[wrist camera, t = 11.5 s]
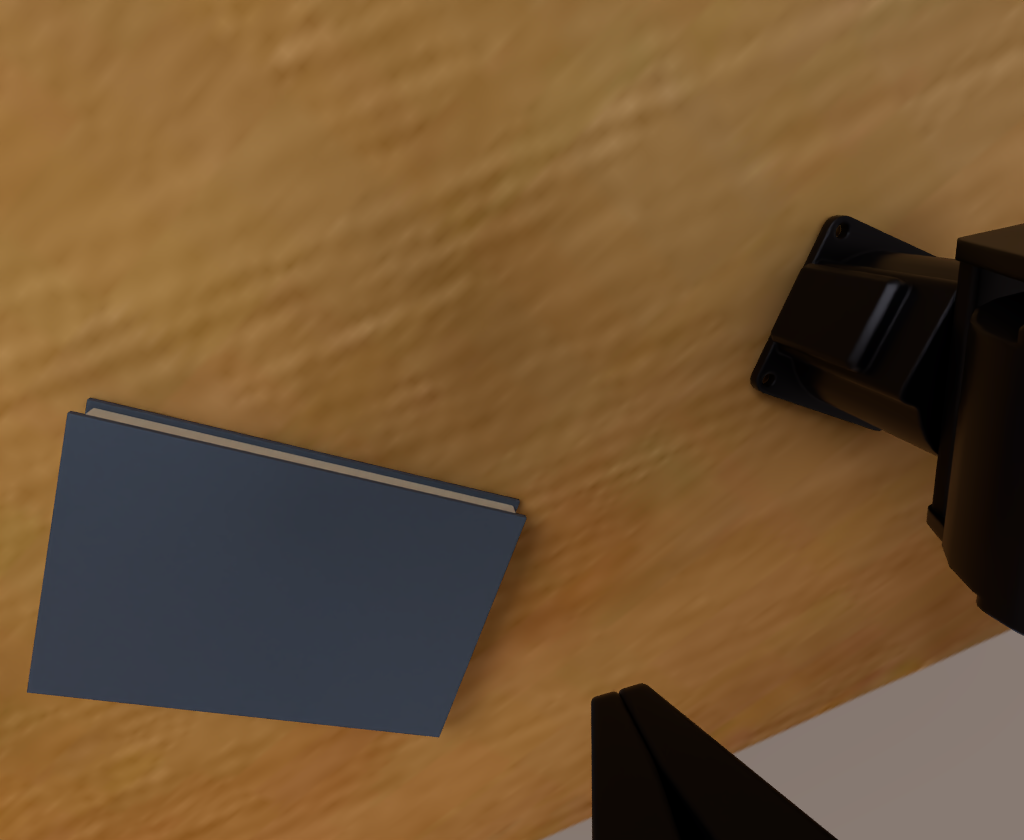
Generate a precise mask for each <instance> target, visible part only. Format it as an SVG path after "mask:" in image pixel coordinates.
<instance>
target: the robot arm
mask: <svg viewBox="0 0 1024 840" xmlns="http://www.w3.org/2000/svg"><path fill="white" fill-rule="evenodd" d="M839 225H841V232H840V234H839V235H838V237H836V229H837V227H838V226H839ZM767 374H769V379H768V380H767V381H766V382H765V383H763V378H764V377H765V375H767ZM750 380H751V384H752V386H753V387H754V388H755V389H757V390H759V391H761V392H762V393H765V394H768V395H771V396H774V397H777V398H780V399H783V400H786V401H789V402H792V403H795V404H798V405H801V406H804V407H807V408H810V409H813V410H816V411H819V412H822V413H825V414H828V415H831V416H834V417H837V418H840V419H843V420H846V421H849V422H852V423H855V424H858V425H860V426H863V427H866V428H869V429H872V430H876V431H880V430H884V431H886V432H888V433H890V434H892V435H894V436H896V437H898V438H900V439H902V440H905V441H907V442H909V443H911V444H913V445H915V446H917V447H919V448H921V449H923V450H925V451H927V452H929V453H932V454H934V455H936V456H938V459H937V468H936V477H935V486H934V494H933V503H932V504H931V505H929V506H928V512H927V521H926V522H927V524H928V525H929V526H930V528H931V529H932V530H933V531H934V532H935V534H936V535H937V536H938V537H939V538H940V540H941V541H942V547H943V549H944V552H945V555H946V558H947V561H948V564H949V567H950V568H951V569H952V570H953V571H954V572H955V573H956V574H957V575H958V576H959V577H960V578H961V580H962V581H963V582H964V583H965V584H966V585H967V586H968V587H969V588H970V589H971V590H972V591H973V592H974V593H975V594H977V600H976V603H977V606H978V607H979V608H980V609H981V610H982V611H984V612H985V613H986V614H988V615H989V616H991V617H993V618H994V619H996V620H998V621H999V622H1001V623H1002V624H1004V625H1006V626H1007V627H1009V628H1010V629H1012V630H1014V631H1015V632H1017V633H1019V634H1021V635H1024V224H1019V225H1015V226H1010V227H1006V228H1001V229H997V230H992V231H988V232H983V233H979V234H974V235H969V236H965V237H961V238H958V239H957V248H956V257H955V259H948V258H940V257H936V256H933V255H931V254H929V253H927V252H925V251H923V250H921V249H918V248H916V247H914V246H912V245H910V244H908V243H906V242H903V241H901V240H899V239H897V238H895V237H893V236H890V235H888V234H886V233H884V232H882V231H880V230H878V229H875V228H873V227H871V226H869V225H867V224H865V223H862V222H860V221H858V220H856V219H854V218H852V217H849V216H841V215H836V216H832V217H830V218H829V219H828V220H827V221H826V222H825V224H824V225H823V227H822V229H821V231H820V233H819V235H818V237H817V239H816V241H815V244H814V246H813V248H812V250H811V252H810V254H809V256H808V258H807V260H806V262H805V264H804V266H803V268H802V269H801V271H800V273H799V275H798V277H797V279H796V281H795V283H794V285H793V287H792V289H791V291H790V294H789V296H788V298H787V300H786V302H785V304H784V306H783V308H782V310H781V312H780V314H779V316H778V318H777V320H776V323H775V325H774V327H773V329H772V331H771V335H770V337H769V339H768V341H767V343H766V345H765V347H764V349H763V351H762V353H761V355H760V358H759V360H758V362H757V364H756V366H755V368H754V370H753V372H752V375H751V378H750ZM591 738H592V840H838V839H836V838H835V837H834V836H833V835H831V834H830V833H829V832H828V831H826V830H825V829H824V828H823V827H821V826H820V825H819V824H818V823H817V822H815V821H814V820H813V819H812V818H810V817H809V816H808V815H807V814H805V813H804V812H803V811H802V810H801V809H799V808H798V807H797V806H796V805H794V804H793V803H792V802H791V801H790V800H788V799H787V798H786V797H785V796H783V795H782V794H781V793H780V792H778V791H777V790H776V789H775V788H773V787H772V786H771V785H770V784H769V783H767V782H766V781H765V780H763V779H762V778H761V777H760V776H759V775H758V774H756V773H755V772H754V771H753V770H751V769H750V768H749V767H747V766H746V765H745V764H744V763H743V762H741V761H740V760H739V759H738V758H736V757H735V756H734V755H733V754H732V753H730V752H729V751H728V750H727V749H725V748H724V747H723V746H722V745H721V744H719V743H718V742H717V741H716V740H714V739H713V738H712V737H711V736H709V735H708V734H707V733H706V732H705V731H703V730H702V729H701V728H700V727H698V726H697V725H696V724H695V723H693V722H692V721H691V720H690V719H689V718H687V717H686V716H685V715H684V714H682V713H681V712H680V711H679V710H677V709H676V708H675V707H674V706H672V705H671V704H670V703H669V702H668V701H666V700H665V699H664V698H663V697H661V696H660V695H659V694H658V693H656V692H655V691H654V690H653V689H652V688H650V687H649V686H648V685H646V684H643V683H641V684H637V685H633V686H630V687H627V688H623V689H621V690H620V691H619V694H618V693H617V692H610V693H606V694H603V695H600V696H596V697H594V698H593V699H592V701H591Z"/></svg>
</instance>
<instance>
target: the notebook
mask: <svg viewBox="0 0 1024 840" xmlns="http://www.w3.org/2000/svg"><path fill="white" fill-rule="evenodd" d="M519 503H520V501H519V499H515V498H511V497H507V496H502V495H498V494H494V493H490V492H485V491H481V490H477V489H473V488H469V487H464V486H460V485H456V484H452V483H448V482H443V481H439V480H435V479H431V478H427V477H422V476H418V475H414V474H410V473H405V472H401V471H397V470H393V469H389V468H384V467H380V466H376V465H372V464H368V463H363V462H359V461H355V460H351V459H347V458H342V457H338V456H334V455H330V454H325V453H321V452H317V451H313V450H309V449H304V448H300V447H296V446H292V445H288V444H283V443H279V442H275V441H271V440H266V439H262V438H258V437H254V436H250V435H245V434H241V433H237V432H233V431H229V430H224V429H220V428H216V427H212V426H208V425H203V424H199V423H195V422H191V421H186V420H182V419H178V418H174V417H170V416H165V415H161V414H157V413H153V412H149V411H144V410H140V409H136V408H132V407H128V406H123V405H119V404H115V403H111V402H106V401H102V400H98V399H94V398H89V399H88V400H87V405H86V411H85V414H82V413H78V412H74V411H70V412H68V414H67V421H66V427H65V434H64V441H63V448H62V455H61V462H60V469H59V476H58V482H57V489H56V496H55V503H54V510H53V517H52V524H51V531H50V537H49V544H48V551H47V558H46V565H45V572H44V579H43V586H42V592H41V599H40V606H39V613H38V620H37V627H36V634H35V641H34V647H33V654H32V661H31V668H30V675H29V682H28V689H27V692H28V693H37V694H46V695H56V696H65V697H74V698H83V699H92V700H101V701H111V702H120V703H129V704H138V705H147V706H156V707H166V708H175V709H184V710H193V711H202V712H211V713H221V714H230V715H239V716H248V717H257V718H266V719H276V720H285V721H294V722H303V723H312V724H322V725H331V726H340V727H349V728H358V729H367V730H377V731H386V732H395V733H404V734H413V735H422V736H432V737H439V736H440V734H441V731H442V729H443V726H444V724H445V721H446V719H447V716H448V714H449V711H450V709H451V706H452V704H453V701H454V699H455V696H456V694H457V691H458V689H459V686H460V684H461V681H462V679H463V676H464V674H465V671H466V669H467V666H468V664H469V661H470V659H471V656H472V654H473V651H474V649H475V646H476V644H477V641H478V639H479V636H480V634H481V631H482V629H483V626H484V624H485V621H486V619H487V616H488V614H489V611H490V609H491V606H492V604H493V601H494V599H495V596H496V594H497V591H498V589H499V586H500V584H501V581H502V579H503V576H504V574H505V571H506V569H507V566H508V563H509V561H510V558H511V556H512V553H513V551H514V548H515V546H516V543H517V541H518V538H519V536H520V533H521V531H522V528H523V526H524V523H525V521H526V516H525V515H522V514H517V513H516V510H517V508H518V505H519Z"/></svg>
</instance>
